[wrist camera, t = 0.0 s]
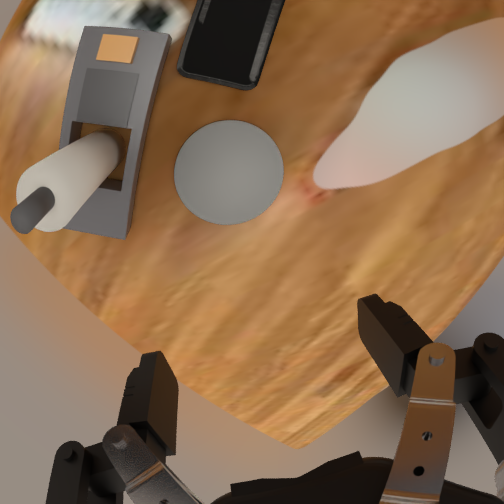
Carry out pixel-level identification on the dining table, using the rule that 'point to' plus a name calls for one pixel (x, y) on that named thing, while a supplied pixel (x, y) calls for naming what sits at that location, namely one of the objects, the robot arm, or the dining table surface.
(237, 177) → the pad
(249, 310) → the dining table surface
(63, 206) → the white and grey cylinder
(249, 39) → the phone
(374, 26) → the dining table surface
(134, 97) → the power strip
